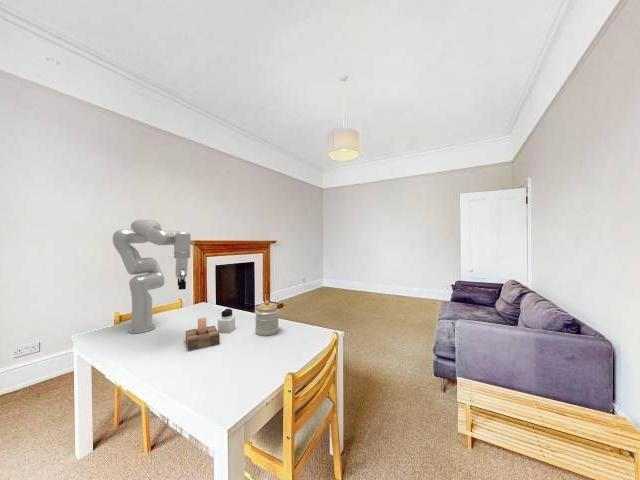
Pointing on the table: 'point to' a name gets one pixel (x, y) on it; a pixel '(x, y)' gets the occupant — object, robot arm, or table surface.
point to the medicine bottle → (226, 321)
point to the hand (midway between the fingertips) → (181, 287)
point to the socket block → (202, 338)
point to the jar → (266, 319)
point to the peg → (201, 326)
